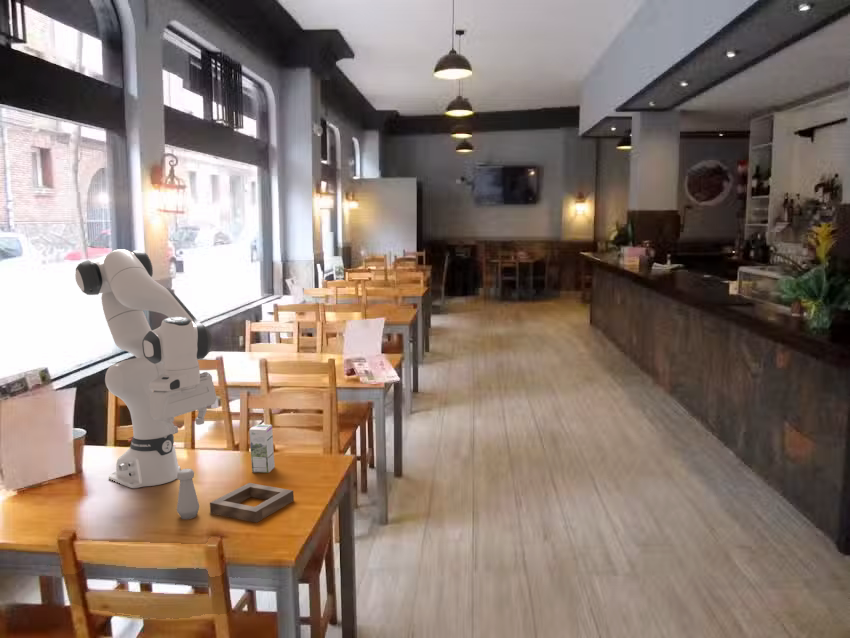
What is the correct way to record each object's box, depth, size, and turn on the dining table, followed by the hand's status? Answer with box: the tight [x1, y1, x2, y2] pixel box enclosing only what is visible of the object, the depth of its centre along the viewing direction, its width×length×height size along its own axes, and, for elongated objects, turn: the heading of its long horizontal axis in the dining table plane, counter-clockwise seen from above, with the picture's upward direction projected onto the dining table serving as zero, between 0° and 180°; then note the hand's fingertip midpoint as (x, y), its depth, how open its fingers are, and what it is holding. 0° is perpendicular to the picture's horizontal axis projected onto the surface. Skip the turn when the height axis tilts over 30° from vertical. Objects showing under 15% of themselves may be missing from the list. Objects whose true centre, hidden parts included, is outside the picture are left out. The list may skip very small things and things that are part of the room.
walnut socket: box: [209, 482, 295, 523], centre depth 191 cm, size 16×16×3 cm
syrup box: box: [249, 424, 276, 474], centre depth 220 cm, size 6×6×14 cm
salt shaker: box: [176, 468, 200, 520], centre depth 185 cm, size 6×6×13 cm
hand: (187, 428), depth 184 cm, fingers open, 8 cm apart
